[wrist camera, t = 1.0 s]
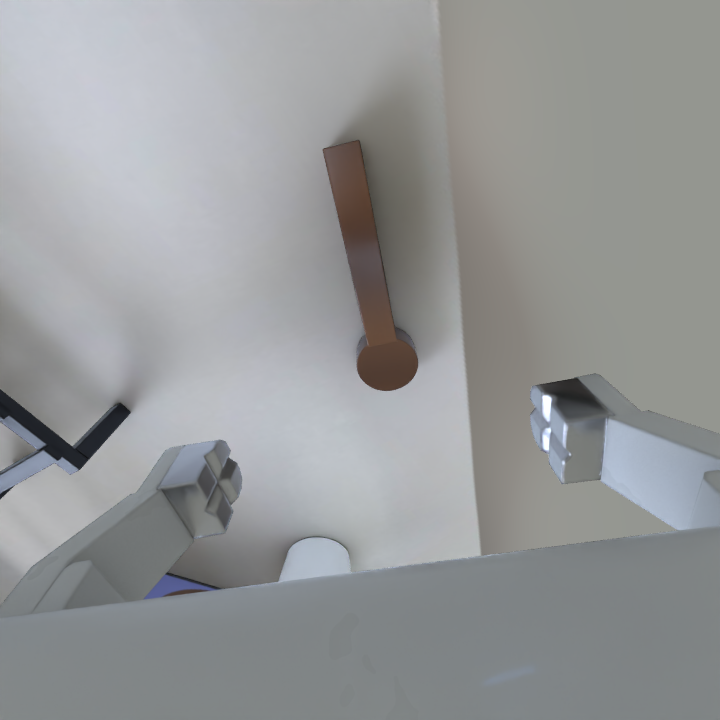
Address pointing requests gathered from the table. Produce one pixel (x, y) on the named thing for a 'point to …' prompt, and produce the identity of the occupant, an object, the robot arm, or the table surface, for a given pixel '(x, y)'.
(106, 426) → the rack
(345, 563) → the cup
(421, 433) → the table surface
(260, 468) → the table surface
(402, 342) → the plank on round base
